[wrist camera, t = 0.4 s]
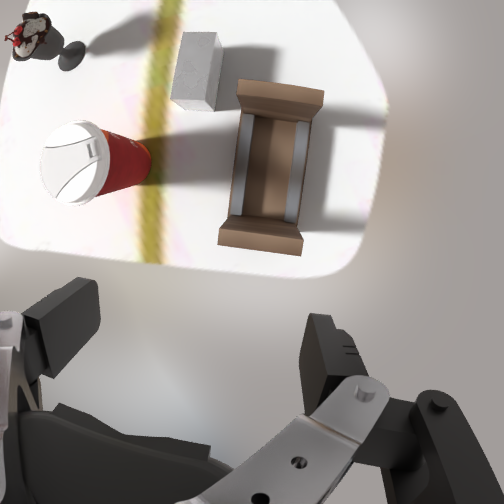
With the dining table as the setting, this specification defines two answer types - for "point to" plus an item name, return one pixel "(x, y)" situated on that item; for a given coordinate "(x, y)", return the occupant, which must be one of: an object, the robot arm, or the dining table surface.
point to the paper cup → (90, 163)
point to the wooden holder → (269, 166)
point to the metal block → (198, 71)
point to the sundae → (44, 42)
